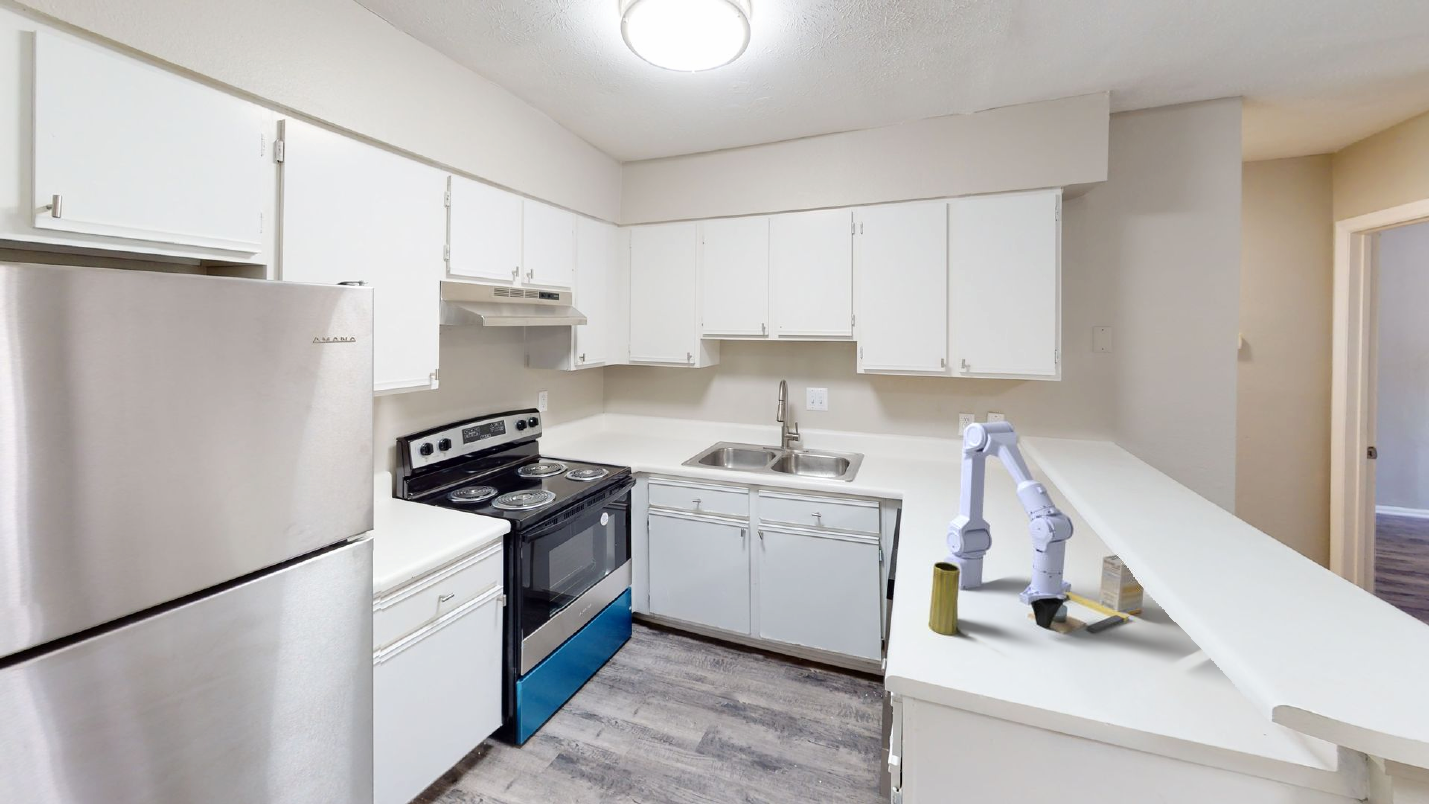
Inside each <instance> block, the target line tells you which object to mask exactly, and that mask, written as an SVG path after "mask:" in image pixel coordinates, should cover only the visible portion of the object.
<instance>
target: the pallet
mask: <svg viewBox="0 0 1429 804" xmlns="http://www.w3.org/2000/svg"><path fill="white" fill-rule="evenodd" d="M1027 617H1028V618H1030V619H1032V620H1033V621H1036V619H1035V615H1034V612H1031V613H1029V614H1027ZM1086 624H1087V623H1086V622H1085V621H1081V620H1080V619H1077V618H1076V617H1073V616H1072V615H1069V614H1067V620H1066V622H1065V623H1056V622H1053V621H1052V623H1051V626H1050V628H1049V629H1052V630H1054V631H1056V632H1058V633H1061V634H1062V635H1064V634H1066V633H1069V632H1071V631H1074V630H1076V629H1079V628H1082V627H1085V626H1087V625H1086Z"/></svg>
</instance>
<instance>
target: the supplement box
mask: <svg viewBox="0 0 1429 804" xmlns="http://www.w3.org/2000/svg"><path fill="white" fill-rule="evenodd" d="M1117 555H1118V554H1112V555H1109V556H1104V557H1102V566H1101V567H1102V568H1101V578H1100V579H1101V580H1100V588H1099V589H1100V591H1099V601H1098V602H1099V603H1098V604H1100V605H1102V606H1105V607H1107V608H1109V609H1112V610H1114V611H1117V612H1119V613H1122V612H1123V613H1125V614H1128V615H1130V616H1131V615H1134V614H1139V613H1142V609H1143V598H1144V588H1145V587H1144V588H1143V587H1142V586H1141V585H1140V584H1139V583H1138V581H1137V580H1136V579H1135V577H1133V574H1132V573H1131V571H1130V570H1129V568H1127V566H1126V565H1125V564H1124V562H1123V561H1122V560H1121V559H1120V558H1119V557H1118V556H1117Z"/></svg>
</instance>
